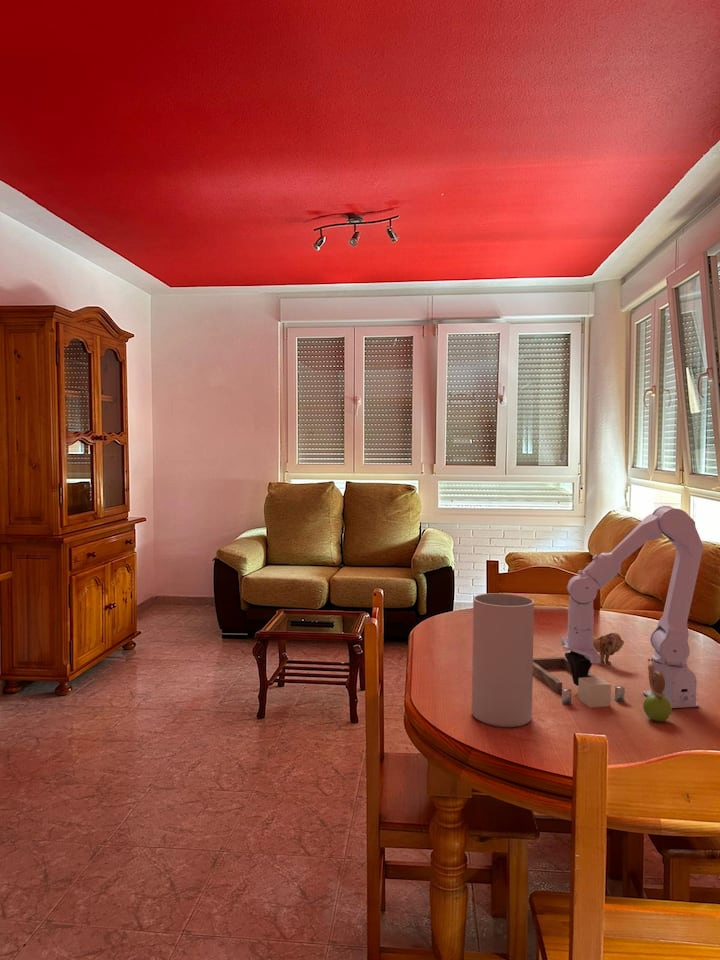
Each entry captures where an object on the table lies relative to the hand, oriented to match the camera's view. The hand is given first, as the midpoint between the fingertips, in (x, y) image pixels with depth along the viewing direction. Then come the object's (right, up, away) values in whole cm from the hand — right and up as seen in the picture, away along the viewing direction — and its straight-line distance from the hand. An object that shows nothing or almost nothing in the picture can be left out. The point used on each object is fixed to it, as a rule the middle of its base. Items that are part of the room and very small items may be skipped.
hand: (579, 684), depth 150 cm
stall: (-1, -1, +8) cm, 8 cm away
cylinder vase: (-22, -2, -15) cm, 27 cm away
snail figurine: (+11, -3, -16) cm, 19 cm away
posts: (+1, -2, -6) cm, 7 cm away
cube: (+1, -2, -7) cm, 7 cm away
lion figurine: (+13, -1, +23) cm, 27 cm away
